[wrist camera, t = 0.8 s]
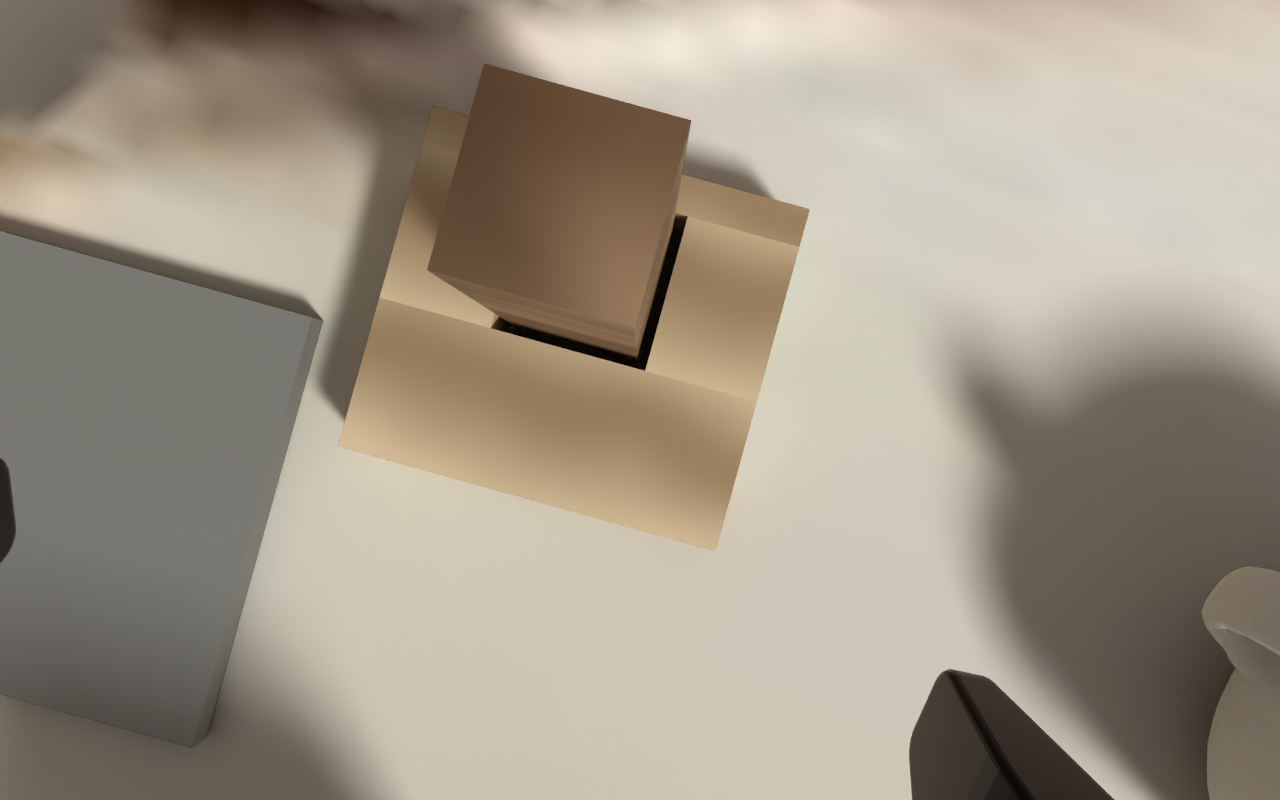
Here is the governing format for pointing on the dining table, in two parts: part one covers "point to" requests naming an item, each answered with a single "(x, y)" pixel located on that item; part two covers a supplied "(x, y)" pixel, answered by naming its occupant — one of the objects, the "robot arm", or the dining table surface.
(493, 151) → the walnut block
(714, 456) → the oak holder
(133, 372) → the grey mat
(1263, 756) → the teacup
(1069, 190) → the dining table surface
